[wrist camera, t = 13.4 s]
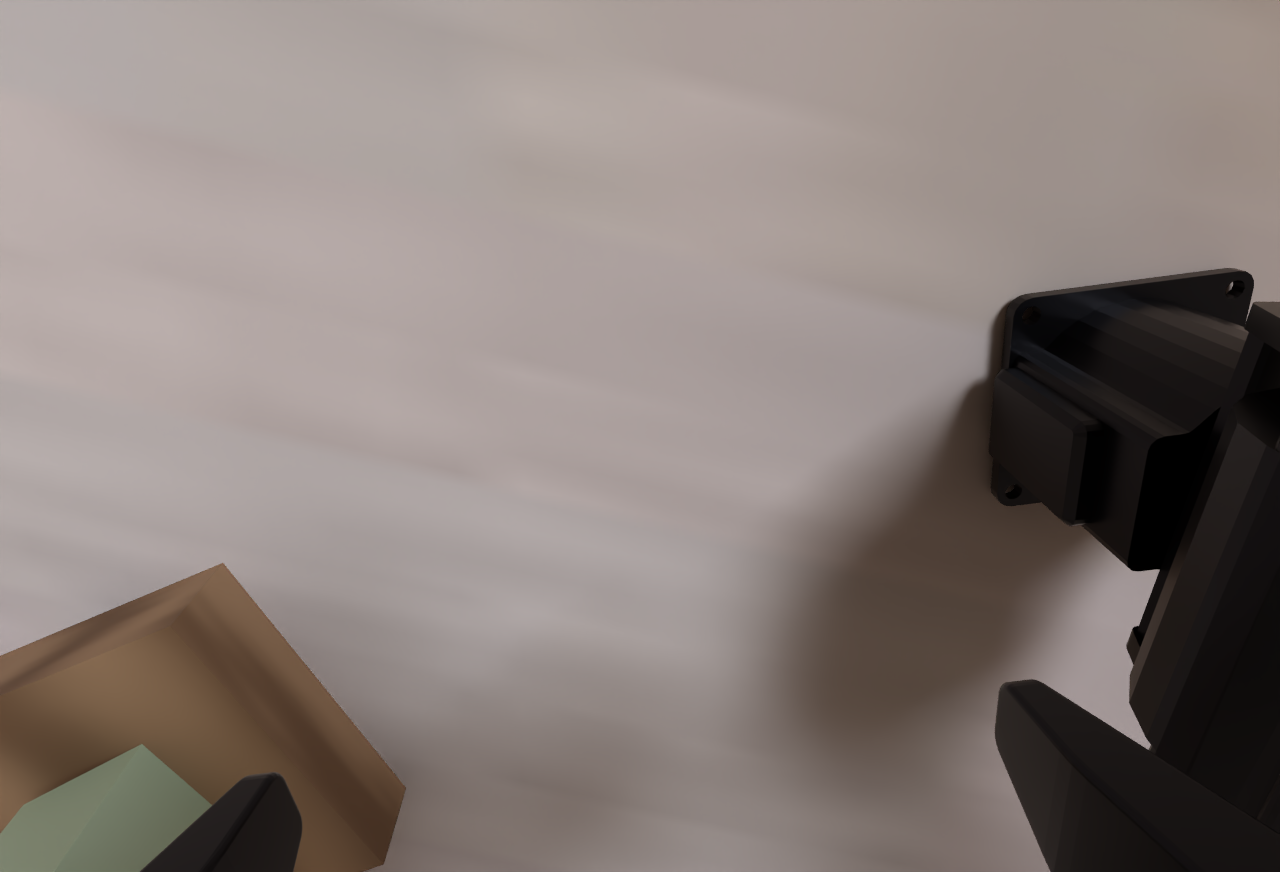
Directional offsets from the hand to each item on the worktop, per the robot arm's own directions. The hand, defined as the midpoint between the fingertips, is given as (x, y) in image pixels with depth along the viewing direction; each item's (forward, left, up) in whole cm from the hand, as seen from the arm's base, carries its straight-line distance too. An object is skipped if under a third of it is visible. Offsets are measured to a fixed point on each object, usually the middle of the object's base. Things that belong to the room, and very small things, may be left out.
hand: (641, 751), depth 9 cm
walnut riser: (+17, +11, -14) cm, 24 cm away
